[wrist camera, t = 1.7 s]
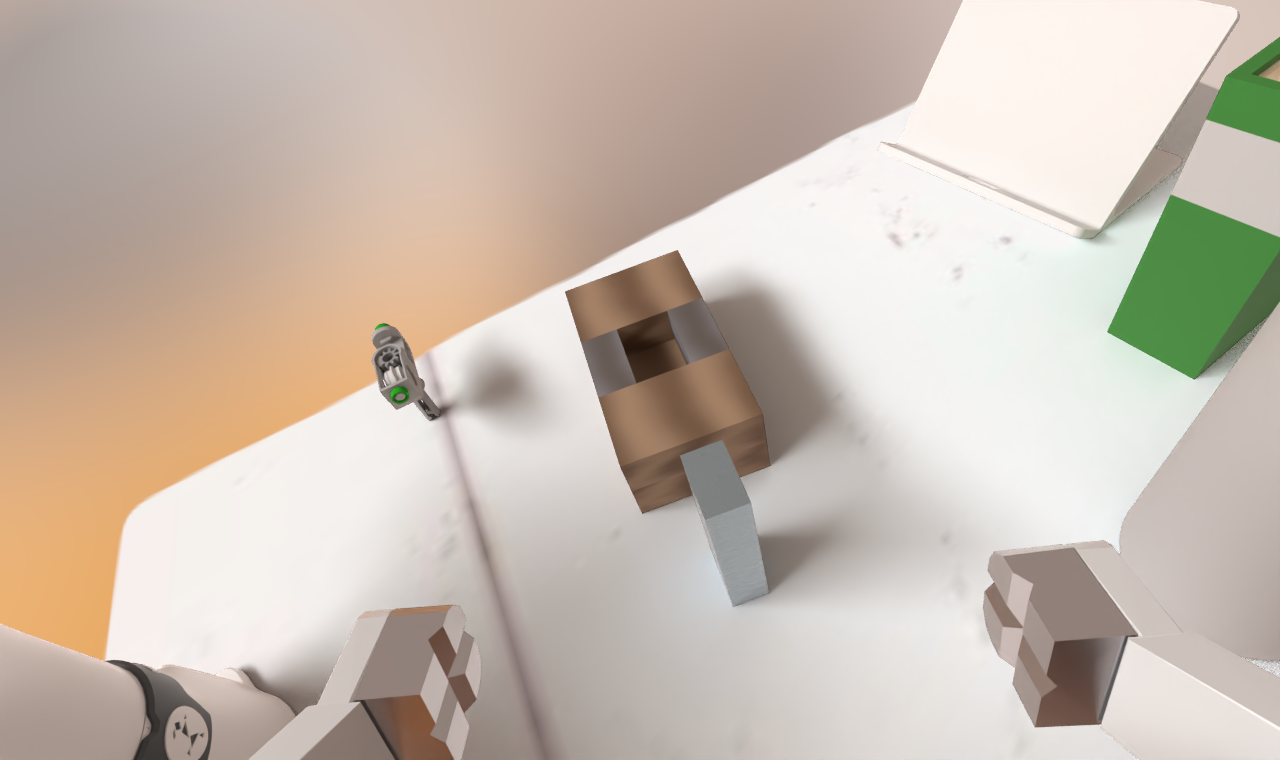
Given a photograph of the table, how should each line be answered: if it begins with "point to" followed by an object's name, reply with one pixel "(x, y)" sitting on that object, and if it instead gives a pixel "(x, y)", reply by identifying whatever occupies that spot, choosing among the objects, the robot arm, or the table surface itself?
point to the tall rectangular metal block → (727, 521)
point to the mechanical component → (399, 371)
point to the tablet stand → (1061, 102)
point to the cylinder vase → (1220, 512)
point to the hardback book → (1215, 232)
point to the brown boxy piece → (664, 377)
